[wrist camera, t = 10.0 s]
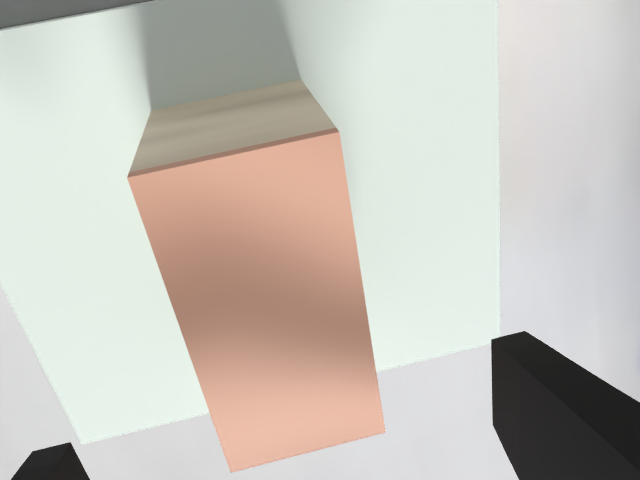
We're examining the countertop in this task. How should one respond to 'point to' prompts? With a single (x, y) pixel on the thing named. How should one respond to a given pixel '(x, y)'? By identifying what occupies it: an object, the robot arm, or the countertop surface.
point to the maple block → (262, 268)
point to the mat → (217, 80)
